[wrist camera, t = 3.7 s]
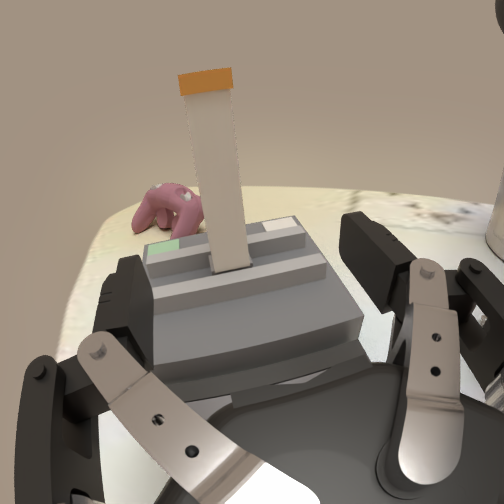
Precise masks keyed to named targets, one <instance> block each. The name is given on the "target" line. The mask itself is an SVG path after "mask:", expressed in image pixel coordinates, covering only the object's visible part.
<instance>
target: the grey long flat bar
mask: <svg viewBox="0 0 504 504" xmlns="http://www.w3.org/2000/svg"><path fill="white" fill-rule="evenodd" d="M364 354H366V352H365V350H364V349H363V347H362V345H361V344H360V342H359V340H358V339H356V340H353V341H350V342H347V343H344V344H341V345H338V346H335V347H332V348H328V349H325V350H322V351H319V352H315V353H312V354H308V355H305V356H301V357H298V358H294V359H290V360H287V361H283V362H279V363H275V364H271V365H267V366H263V367H259V368H255V369H250V370H246V371H242V372H237V373H232V374H228V375H223V376H218V377H212V378H207V379H202V380H196V381H190V382H184V383H178V384H171V385H166V386H167V387H168V388H169V389H170V390H171V391H172V392H173V393H174V394H175V395H176V396H178V397H179V398H180V399H181V400H182V401H183V402H184V403H185V404H187V405H188V406H189V407H190V408H191V409H192V410H194V411H195V412H196V413H197V414H198V415H199V416H201V417H202V418H203V419H204V420H207V419H208V418H209V417H210V416H211V415H212V414H213V413H215V412H216V411H217V410H219V409H220V408H222V407H224V406H225V405H227V404H229V403H232V399H231V395H230V393H232V392H237V391H241V390H246V389H250V388H255V387H259V386H263V385H275V384H296V383H305V382H307V381H309V380H311V379H313V378H314V377H316V376H318V375H319V374H321V373H323V372H324V371H326V370H327V369H329V368H331V367H332V366H334V365H336V364H338V363H341V362H344V361H347V360H350V359H353V358H356V357H358V356H361V355H364ZM366 355H367V354H366ZM367 357H368V356H367ZM368 359H369V357H368ZM369 361H370V359H369ZM370 362H371V361H370Z"/></svg>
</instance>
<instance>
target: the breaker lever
mask: <svg viewBox="0 0 504 504" xmlns="http://www.w3.org/2000/svg"><path fill="white" fill-rule="evenodd" d="M178 79H179V86H180V93H181V96H184V101H185V108H186V114H187V120H188V127H189V134H190V140H191V146H192V151H193V158H194V164H195V170H196V175H197V181H198V187H199V192H200V198H201V203H202V209H203V214H204V219H205V224H206V230H207V235H208V240H209V245H210V250H211V255H208V256H209V262H210V267H211V272H212V276H214V275H219V274H224V273H228V272H233V271H238V270H243V269H248V268H252V267H253V262H252V260H251V257H250V255H249V252H248V243H247V235H246V226H245V217H244V208H243V199H242V191H241V182H240V173H239V164H238V156H237V147H236V137H235V128H234V120H233V110H232V101H231V93H230V88H233V80H232V71H231V68H222V69H214V70H207V71H200V72H193V73H188V74H182V75H178Z"/></svg>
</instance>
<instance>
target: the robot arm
mask: <svg viewBox="0 0 504 504" xmlns="http://www.w3.org/2000/svg"><path fill="white" fill-rule="evenodd" d="M495 9H496V17H497V21H498V24H499V26H500V28H501V30H502V32H503V33H504V0H496V2H495ZM486 241H487V243H488V245H489V246H490V248H491V249H492V250H493V251H494V252H495V253H496V254H497V255H498V256H499V257H500V258H501V259H503V260H504V168H503V173H502V177H501V182H500V186H499V190H498V194H497V198H496V202H495V206H494V209H493V212H492V216H491V219H490V222H489V226H488V229H487V232H486ZM339 253H340V256H341V259H342V261H343V262H344V263H345V265H346V266H347V267H348V269H349V270H350V271H351V273H352V274H353V275H354V277H355V278H356V279H357V281H358V282H359V283H360V285H361V286H362V287H363V289H364V290H365V292H366V293H367V294H368V296H369V297H370V298H371V300H372V301H373V303H374V304H375V305H376V307H377V308H378V310H379V311H380V312H381V314H384V313H387V312H390V311H393V312H394V313H395V315H394V317H393V322H392V330H391V338H390V345H389V351H388V357H387V361H386V363H385V362H370V361H369V359H368V357H367V355H366V354H364V355H361V356H358V357H356V358H353V359H350V360H347V361H344V362H341V363H338V364H336V365H334V366H332V367H331V368H329V369H327V370H326V371H324V372H323V373H321V374H319V375H318V376H316V377H314V378H313V379H311V380H309V381H307V382H305V383H296V384H275V385H263V386H259V387H255V388H250V389H246V390H241V391H237V392H232V393H230V395H231V399H232V403H229V404H227V405H225V406H224V407H222V408H220V409H219V410H217V411H216V412H215V413H213V414H212V415H211V416H210V417H209V418H208V419H207V420H204V419H203V418H202V417H201V416H199V415H198V414H197V413H196V412H195V411H194V410H192V409H191V408H190V407H189V406H188V405H187V404H185V403H184V402H183V401H182V400H181V399H180V398H179V397H178V396H176V395H175V394H174V393H173V392H172V391H171V390H170V389H169V388H168V387H167V386H166V385H164V384H163V383H162V382H161V381H160V380H159V379H158V378H157V377H156V376H155V375H154V374H153V373H152V372H150V371H151V370H154V354H153V320H154V297H153V291H152V287H151V284H150V282H149V279H148V277H147V274H146V271H145V269H144V266H143V263H142V261H141V258H140V256H139V255H133V256H129V257H124V258H120V259H119V261H118V266H117V270H116V273H113V274H109V276H108V277H107V278H106V280H105V281H104V283H103V284H102V289H101V293H100V295H101V296H100V297H99V302H98V303H99V304H98V306H97V311H96V316H95V321H94V326H93V331H92V334H90V335H89V336H87V337H86V338H85V339H84V340H83V341H82V342H81V344H80V345H79V348H78V351H77V355H75V356H73V357H71V358H69V359H66V360H64V361H62V362H59V363H57V362H56V361H55V360H54V359H53V358H52V357H50V356H47V355H43V356H40V357H38V358H36V359H34V360H33V361H32V362H31V363H30V365H29V366H28V367H27V369H26V372H25V376H24V381H23V387H22V392H21V399H20V406H19V413H18V421H17V431H16V445H15V466H14V469H15V470H14V487H15V504H106V503H105V499H104V492H103V483H102V474H101V463H100V450H99V429H98V415H99V414H102V413H104V412H106V411H109V410H111V411H112V412H113V413H114V414H115V416H116V417H117V418H118V419H119V421H120V422H121V423H122V424H123V425H124V427H125V428H126V429H127V430H128V431H129V433H130V434H131V435H132V436H133V437H134V438H135V439H136V441H137V442H138V443H139V444H140V445H141V446H142V447H143V448H144V449H145V451H146V452H147V453H148V454H149V455H150V456H151V457H152V458H153V459H154V460H155V461H156V462H157V463H158V464H159V465H160V466H161V467H162V468H163V469H164V470H165V471H166V472H167V473H168V474H169V475H170V476H171V477H170V479H169V480H168V482H167V483H166V485H165V487H164V488H163V490H162V491H161V493H160V495H159V496H158V498H157V499H156V501H155V502H154V504H504V285H503V284H502V283H501V282H500V281H499V280H498V278H497V277H496V276H495V275H494V274H493V273H492V272H491V271H490V270H489V269H488V268H487V267H486V266H485V265H484V264H483V263H482V262H480V261H478V260H476V259H473V258H465V259H463V260H461V262H460V265H459V267H458V270H444V269H443V268H442V267H441V266H440V265H439V264H438V263H436V262H435V261H433V260H430V259H425V258H419V259H417V258H416V257H415V256H414V255H413V254H412V253H411V252H410V251H409V250H408V249H407V248H406V247H405V246H404V245H403V244H402V243H401V242H400V241H398V239H397V238H396V237H395V236H394V235H392V233H391V232H390V231H389V230H388V229H387V228H385V227H384V226H383V225H381V224H379V223H377V222H375V221H371V220H370V219H369V218H368V217H367V216H366V215H365V214H364V213H363V212H361V211H358V212H353V213H347V214H343V216H342V218H341V228H340V239H339ZM476 305H477V306H478V307H479V308H480V309H481V311H482V312H483V313H484V314H485V316H486V317H487V318H488V320H489V323H490V330H489V332H488V334H486V332H485V331H484V329H483V328H482V327H481V325H480V324H479V323H478V321H477V320H476V319H475V317H474V316H473V315H472V312H473V310H474V308H475V306H476ZM460 354H461V355H462V357H463V358H464V360H465V361H466V363H467V365H468V366H469V368H470V369H471V371H472V373H473V374H474V376H475V378H476V379H477V381H478V383H479V384H480V386H481V388H482V389H483V391H484V393H485V400H486V401H485V402H484V403H483V402H480V401H478V400H476V399H473V398H471V397H469V396H466V395H464V394H462V393H460ZM147 371H148V372H147Z"/></svg>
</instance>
